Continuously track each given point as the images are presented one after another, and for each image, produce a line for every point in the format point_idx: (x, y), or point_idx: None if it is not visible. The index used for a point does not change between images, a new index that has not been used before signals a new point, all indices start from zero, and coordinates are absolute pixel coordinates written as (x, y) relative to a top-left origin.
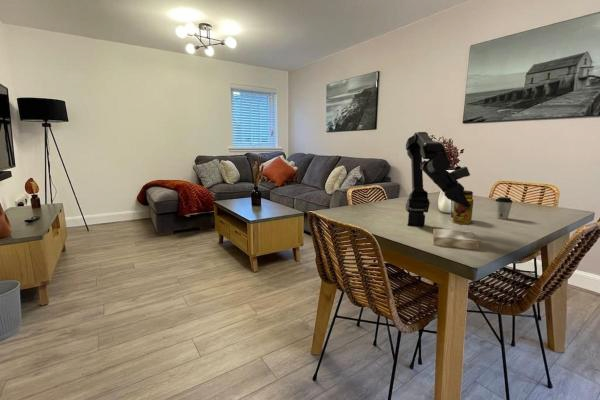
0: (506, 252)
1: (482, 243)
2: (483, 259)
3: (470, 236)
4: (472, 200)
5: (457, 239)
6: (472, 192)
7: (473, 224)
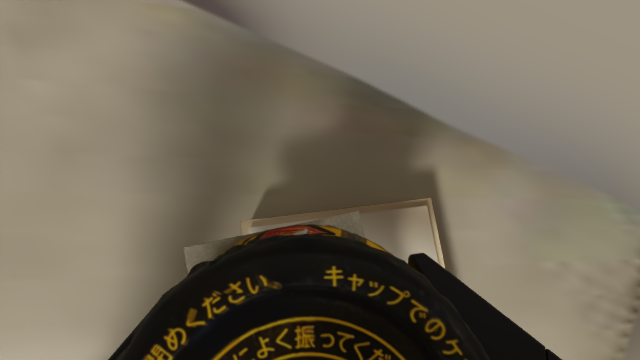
0: (386, 97)
1: (299, 183)
2: (536, 185)
3: None
4: (358, 236)
5: None
6: (337, 245)
7: (324, 223)
